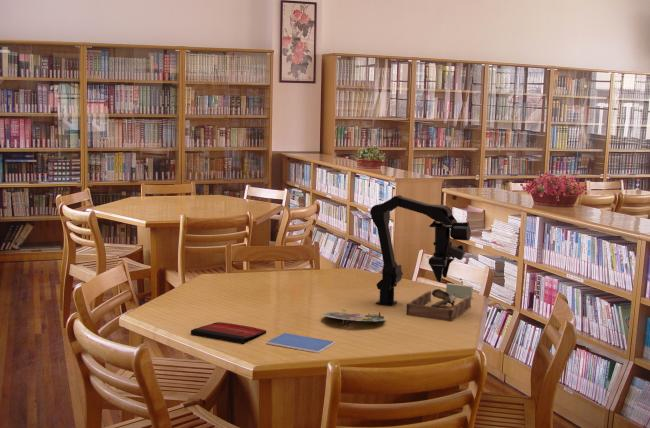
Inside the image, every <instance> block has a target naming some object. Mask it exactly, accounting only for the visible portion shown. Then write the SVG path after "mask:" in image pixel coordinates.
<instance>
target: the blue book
mask: <svg viewBox="0 0 650 428" xmlns="http://www.w3.org/2000/svg"><path fill="white" fill-rule="evenodd" d="M266 344H267V345H270V346H276V347H281V348H288V349H293V350H299V351H303V352H304V351H305V352H309V353H314V354H321V353H322V352H324V351H325V350H327V349H329V348H331V347H332V346H334V345H335V344H336V342H335V341H334V340H328V339H323V338H322V339H321V338H316V337H312V336H311V337H310V336H306V335H305V336H304V335H298V334H293V333H286V332H285V333H284V332H283V333H282V334H280V335H278V336H276V337H274V338H272V339H269V340H268V341H266Z"/></svg>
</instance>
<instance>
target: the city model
mask: <svg viewBox="0 0 650 428" xmlns="http://www.w3.org/2000/svg"><path fill="white" fill-rule="evenodd" d="M322 316H324V317H327V318H333V319H338V320H342V325H343V326H346V327H347V328H348V327H349V326H351V323H352V321H358V322H361V321H362V322H384V321H386V318H384V317H385V316H382V315H381V312H380V311H379V312H378V314H377V313H376V314H375V313H373V314H372V313H368V314H367V315H366V314H361V313H350V312H349V313H348V312H347V311H346V309H343V311H342V312H337V311H336V312H335V311H334V312H333V311H331V312H324V313H323V312H322Z"/></svg>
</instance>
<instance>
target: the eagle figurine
mask: <svg viewBox="0 0 650 428" xmlns="http://www.w3.org/2000/svg"><path fill="white" fill-rule="evenodd" d="M431 296H432V297H434V298H437V299H440V300H439V301H437V302H435V303H433V304H432V305H431V307H437V308H439V307H440V306H446V305H448V304H450V305H452V307H454V306H455V303H456V301H455V299H456V297H455V294H454V295H452V296H449V294H448V293H447V292H446V291H444V290H442V289H440V288H436V289H434V290H433V291H431Z"/></svg>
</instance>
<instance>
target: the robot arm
mask: <svg viewBox="0 0 650 428" xmlns="http://www.w3.org/2000/svg"><path fill="white" fill-rule="evenodd" d="M398 207H399V208H402V209H405V210H408V211H413V212H416V213H419V214H423V215H425V216H427V217H428V218H430V219H432V220H433V221H432V223H430V224H429V228H434V241H433V246H434V252H433V253H432V256H431V257H429V258H428V265H429V267H430V268H431V270H432V272H433V275H434V277H435V279H436V281H437V283H441V282H442V278H447V276H448V273H449V272H448V271H449V269H450V264H451V263H452V262H453V261H454V260H455V258H456V259H457V260H459V261H461V260H463V259H464V256H465V254H466V249H465V246H464V245H463V244H459V245H458V246H454V245H453V243H452V241H451V238H452V239H453V240H454V241H468V242H469V241H470V239H471V234H472V231H471V226H470V222H468V221H465V222H463V221H462V222H460V221H459V222H458V221H457V220H456V217H455V216H454V215H453V212H452V209H451V207H449V206H448V205H442V204H430V203H426V202H422V201H418V200H415V199H412V198H409V197H406V196H402V195H401V194H399V195H394V196H392V197H391V198H390V199H388V200H386V201H384V202H382V203H378V204H375V205H373V206H371V209H370V211H369V213H370V217H371V219H372V220H371V221H372V222H373V224H374V226H375V227H376V228H377V229H376V230H377V235H378V240H379V245H380V251H381V256H382V261H383V262H382V263H383V265H382V272H381V275H382V279H380V280H379V281H378V282H377V283H376V288H377V290H379V300H377V301H376V303H375V304H377V305H384V306H389V307H390V306H393V305H395V304H397V302H398V301H397V300H395V288H396V287H397V285H398V284H399V283H400V282H401V280H402V278H403V275H404V273H403V270H402V265H401V264H398V263H397V261H396V259H395V254H394V252H395V251H394V248H393V242H392V237H391V232H390V221H391V220H390V219H391V212H392V211H393V210H396V209H397V208H398Z"/></svg>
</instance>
